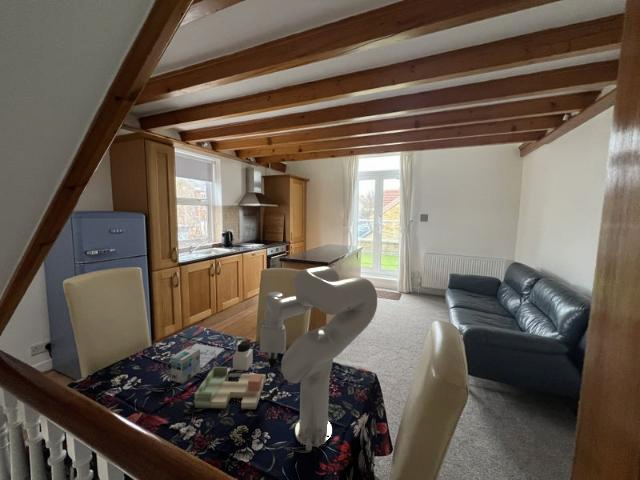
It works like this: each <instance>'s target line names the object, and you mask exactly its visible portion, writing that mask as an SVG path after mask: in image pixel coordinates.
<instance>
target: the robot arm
mask: <svg viewBox="0 0 640 480" xmlns="http://www.w3.org/2000/svg"><path fill="white" fill-rule="evenodd" d="M292 282H293V283H292V284H293V289H294V295H291V296H286V297H285V295H284V294H283V293H282V292H280V291H270V292H267V293H266V294H265V297H264V319H260V323H261V324H263V325H262V327H261V331H260V336H259V337H260V339H259V353H262V354H265V355H266V357H267V358H268V365H269V368H270V369H271V368H272V369H275V366H276V365H277V364H278V363H277V362H278V361H277V360H278V357H279V356H281V355H283V356H282V359H281V361H280V362H281V364H280V365H281V367H280V368H281V374H282V376H283V377H284V379H285V380H286V381H288V382H290V383H291V384H299V383H300V394H299V402H300V403H299V420H298V421H297V422H296V424H295V427H294V435H295V439H296V441H298V443H299V442H300V443H299V444H300V445H302V444H303V445H302V446H304V445H306V446H305V450H306V451H307V452H310V451H312V450H313V448H312V446H316V447H317V448H320V447H319V445H321V444H323V443H324V442H326V441H327V440H328V439H329V438H330V437H331V438H332V436H331V435H333V428H332V424H331V422H329V397H330V394H329V392H330V379H331V371H332V366H333V361H334V358H336V357H338V356H339V355H340V354H341V353H343V351H344V350H346V348H347V347H348V346H350V344H352V343H353V341H354V340H355V339H357V337H358V336H359V335H360V334H361V333H362V332H363V331H364V330H365V329H366V328H367V327H368V326H369V325H370V323H371V322H372V321H373V318H375V315H376V313H377V312H376V311H377V310H378V309H377V308H378V294H377V289H376V288H375V286H374V284H373V283H372V281H370V280H369V279H367V278H364V277H357V276H356V277H348V278H345V279H344V278H343V279H340V278H339V274H338V272H337V271H336V269H334V268H332V267H330V266H327V265H326V266H324V265H323V266H316V267H309V268H304V269H301V270H299V271H298V272H297V273H296V274H295V276H294V277H293V281H292ZM312 308H316V309H317V310H319V311H320V312H322V313H323V314H326V315H331V316H333V315H334V316H333V317H332V318H331V320H330V321H328V323H326V325H324V326H321V327H317V328H315V329H312V330H310V331H309V330H308V331H306V332H304V333H303V334H301V335H300V336H298V337H297V338H296V339H295V340H294V341H293V343H292V344H291V345H290V346H289V347H288V349H287V347H286V346H287V331H286V326H285V325H284V320H285V319H288V318H293V317H295V316H299V315H302V314H305V313H306V312H308V311H310V310H311V309H312ZM327 436H329V437H327ZM312 443H314V444H312Z"/></svg>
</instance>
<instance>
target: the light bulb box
mask: <svg viewBox="0 0 640 480" xmlns="http://www.w3.org/2000/svg"><path fill="white" fill-rule="evenodd" d="M170 361H171V363H170V374H171V375H170V376H171V377H170V381H173V382H176V383H178V384H179V383H180V384H184V383H185V382H187V381H188V380H190V379H191V378H193V377H194V376H196V375H197V374H198V373H200V372H201V369H200V349H198V348H194V347H192V346H188V347H186V348H184V349H182V350H181V351H178V352H177V353H175V354H174V355H173V356H170Z"/></svg>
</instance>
